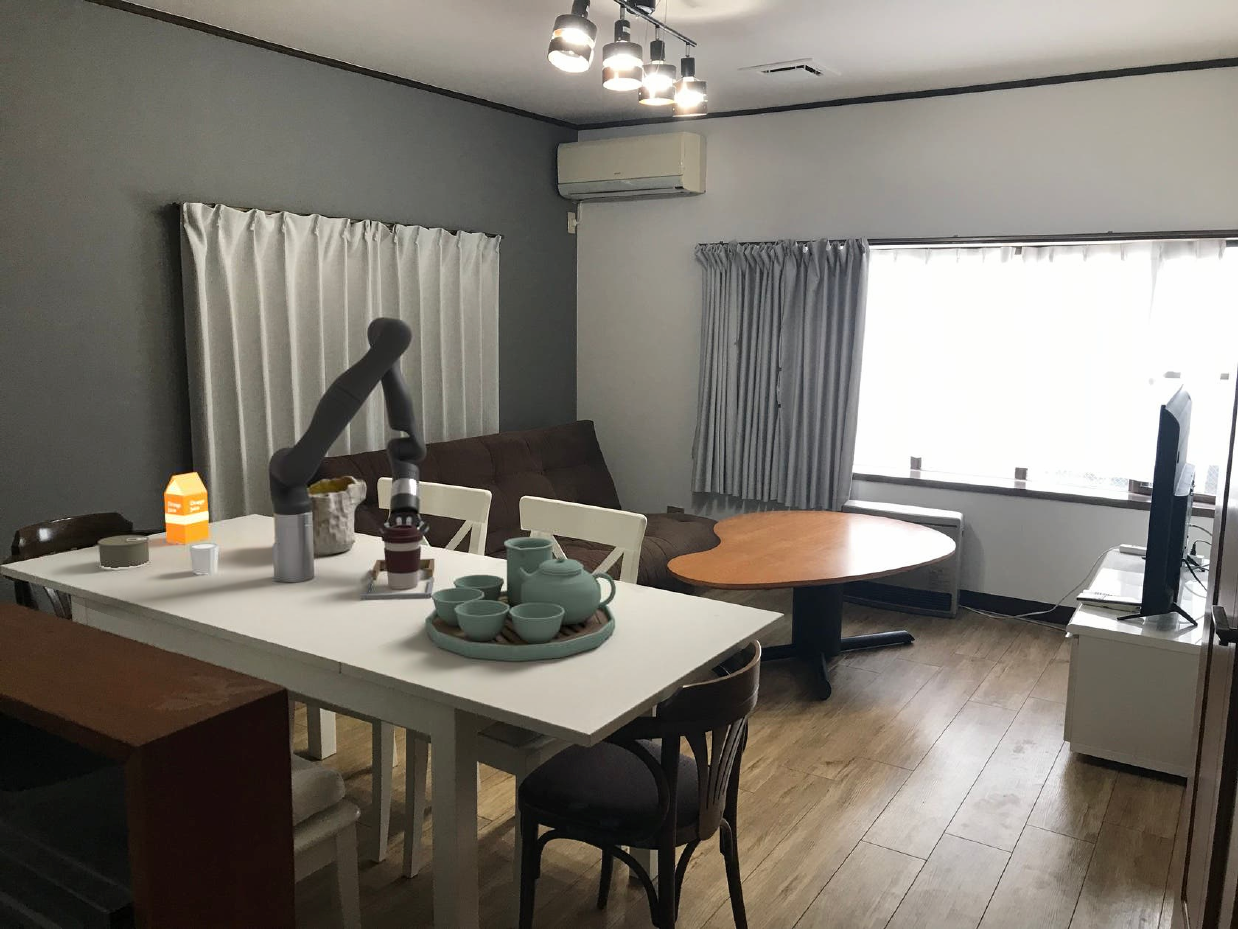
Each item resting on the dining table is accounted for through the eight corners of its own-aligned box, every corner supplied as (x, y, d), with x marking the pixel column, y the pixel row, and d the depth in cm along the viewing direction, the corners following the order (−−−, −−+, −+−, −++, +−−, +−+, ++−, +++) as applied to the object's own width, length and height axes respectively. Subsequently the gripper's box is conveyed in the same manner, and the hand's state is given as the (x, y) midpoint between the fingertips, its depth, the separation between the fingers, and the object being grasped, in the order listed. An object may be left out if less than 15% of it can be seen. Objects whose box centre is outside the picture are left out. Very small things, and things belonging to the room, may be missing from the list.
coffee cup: (400, 593, 231) (399, 533, 229) (374, 586, 237) (373, 527, 235) (431, 585, 239) (431, 526, 237) (406, 578, 245) (404, 521, 243)
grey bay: (362, 599, 226) (361, 595, 226) (369, 582, 241) (369, 578, 240) (431, 597, 228) (430, 593, 228) (434, 581, 243) (433, 577, 243)
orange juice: (209, 539, 286) (206, 472, 283) (185, 545, 278) (182, 477, 275) (190, 536, 289) (187, 470, 286) (166, 542, 281) (162, 474, 278)
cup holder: (372, 580, 243) (372, 570, 242) (377, 569, 254) (376, 559, 253) (432, 579, 245) (432, 569, 244) (434, 567, 256) (434, 558, 256)
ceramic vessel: (245, 530, 259) (276, 452, 271) (289, 568, 279) (317, 494, 292) (318, 535, 253) (347, 455, 265) (358, 574, 273) (384, 497, 285)
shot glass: (206, 576, 244) (205, 550, 243) (184, 574, 246) (183, 547, 245) (225, 570, 250) (224, 544, 249) (204, 568, 252) (203, 542, 251)
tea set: (402, 620, 212) (401, 547, 210) (563, 596, 232) (564, 530, 229) (467, 678, 178) (466, 592, 176) (650, 645, 198) (651, 567, 195)
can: (100, 562, 257) (98, 537, 256) (149, 557, 263) (148, 533, 262) (99, 572, 247) (97, 546, 246) (150, 567, 252) (149, 542, 251)
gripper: (377, 492, 247) (375, 550, 237) (430, 491, 249) (429, 548, 239) (380, 508, 253) (377, 565, 243) (431, 507, 255) (431, 563, 245)
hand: (403, 556), depth 241 cm, fingers closed
